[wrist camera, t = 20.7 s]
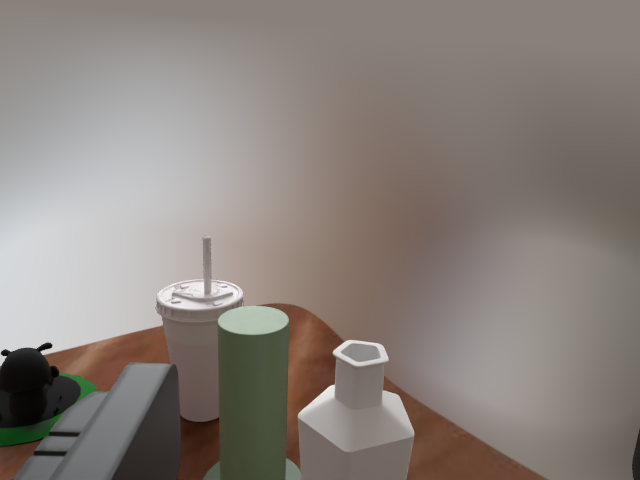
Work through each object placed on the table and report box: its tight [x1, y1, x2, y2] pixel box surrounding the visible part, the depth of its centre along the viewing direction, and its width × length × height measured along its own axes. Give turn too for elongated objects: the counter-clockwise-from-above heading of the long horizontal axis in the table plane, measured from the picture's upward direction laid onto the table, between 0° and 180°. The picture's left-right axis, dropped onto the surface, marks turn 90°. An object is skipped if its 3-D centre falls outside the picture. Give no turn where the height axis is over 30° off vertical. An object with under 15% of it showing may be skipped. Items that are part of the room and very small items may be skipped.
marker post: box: [203, 306, 301, 480], centre depth 33 cm, size 6×6×12 cm
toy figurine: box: [0, 343, 97, 445], centre depth 42 cm, size 10×10×6 cm
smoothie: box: [156, 236, 244, 422], centre depth 42 cm, size 6×6×14 cm
